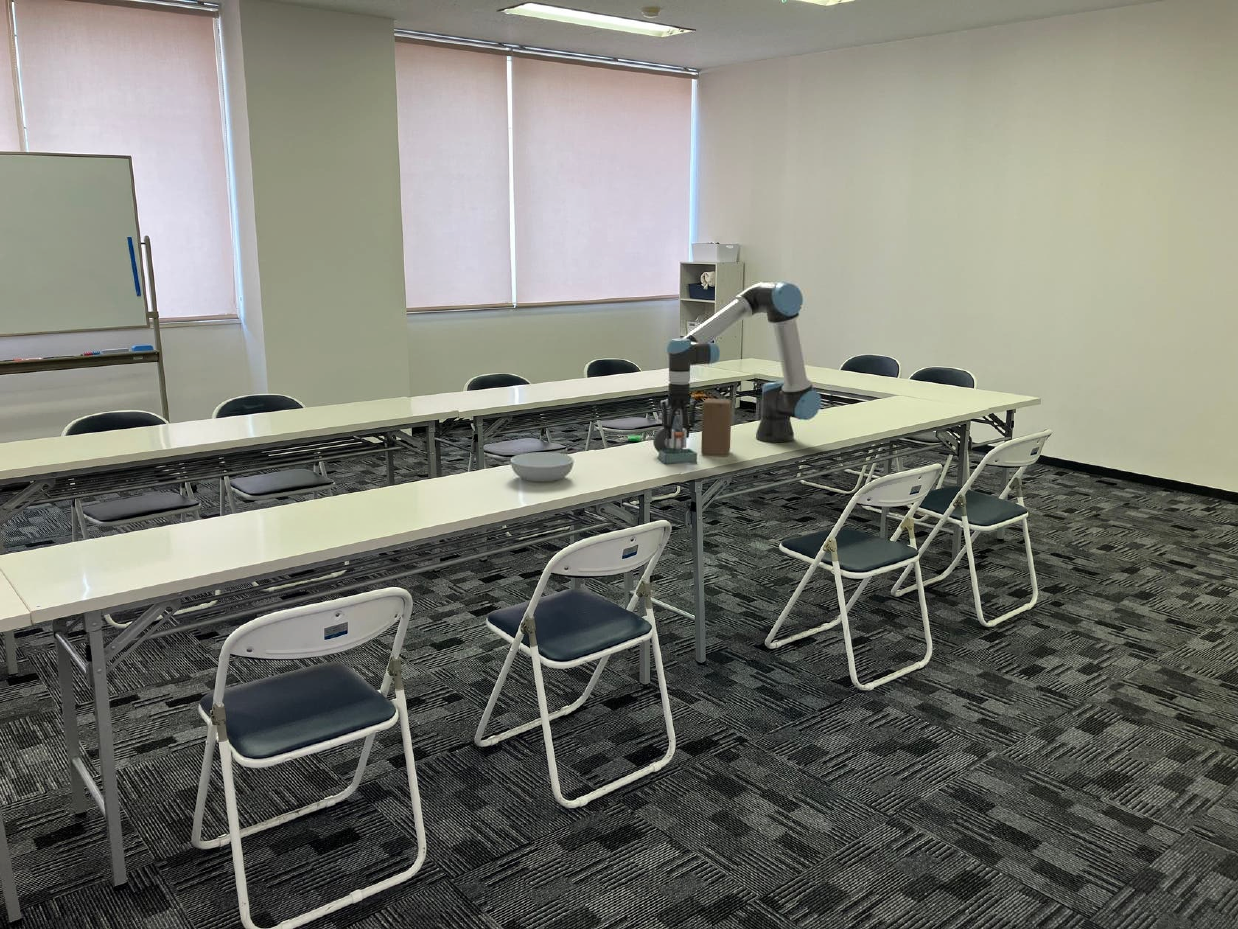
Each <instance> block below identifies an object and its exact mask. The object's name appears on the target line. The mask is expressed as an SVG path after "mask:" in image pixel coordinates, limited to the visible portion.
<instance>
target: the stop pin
mask: <svg viewBox="0 0 1238 929" xmlns="http://www.w3.org/2000/svg"><path fill="white" fill-rule="evenodd" d="M682 436H683V433H682V431H681V432H674V454H680V453H681V444H682Z"/></svg>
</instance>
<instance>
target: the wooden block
mask: <svg viewBox="0 0 1238 929" xmlns="http://www.w3.org/2000/svg"><path fill="white" fill-rule="evenodd" d="M732 403H733V402H732V400H731V399H722V398H705V400H704V401H703V403H702V407H701V408H702V409H701V410H702V411H701V444H700V445H701V448H700V449H701V450H700V451H701V452H700V453H701V455H702V456H710V457H713V456H715V457H728V455H729V453H730V450H731V433H732V432H731V431H732V430H731V428H732V405H733V404H732Z"/></svg>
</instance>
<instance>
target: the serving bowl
mask: <svg viewBox="0 0 1238 929" xmlns="http://www.w3.org/2000/svg"><path fill="white" fill-rule="evenodd" d="M574 461H575V460H574V457H572V456H571V455H569V454H564V453H561V452H549V451H548V452H547V451H546V452H545V451H544V452H541V451H539V452H527V453H521V454H517V455H514V456H512V457H511V458H510V465H511V468H512V471H513V473H515V475H517V476H518V477H519V478H520V479H523V480H527V481H531V482H534V483H549V482H553V481H557V480H561V479H563V478H564V477H566V476H568V475H569V473H570V472H571V471H572V470H573V466H574Z"/></svg>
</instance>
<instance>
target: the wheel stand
mask: <svg viewBox="0 0 1238 929" xmlns="http://www.w3.org/2000/svg"><path fill="white" fill-rule="evenodd" d="M669 415H670V410H667V424H668V420H669ZM658 418H660V419H661V420H662V410H661V412H660V413H658ZM680 420H681V415H679V412H678V411H676V413H675V418H674V422H673V427H672V430H674V432H682V431H681V430H680V429H679V428H677V421H680ZM652 441H653V442H652V443H653V447H654V448H655V450H656V451H657V453H659V450H672V449H674V448H670V447H669V441H670V439H668V438H667V429H665V428H663V427H662V426H661V427H659V429H658V430H656V431H655V434H654V436H653V440H652ZM681 449H684V447H682V444H681Z"/></svg>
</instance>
